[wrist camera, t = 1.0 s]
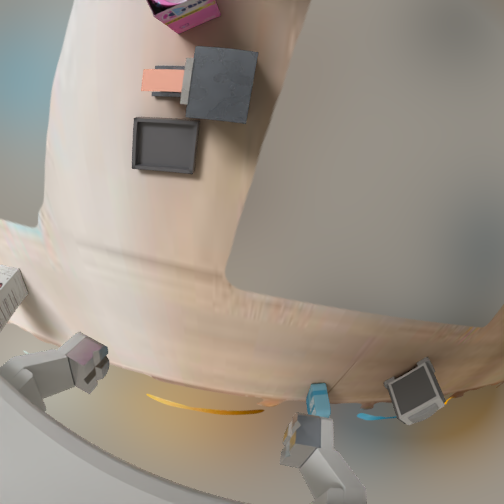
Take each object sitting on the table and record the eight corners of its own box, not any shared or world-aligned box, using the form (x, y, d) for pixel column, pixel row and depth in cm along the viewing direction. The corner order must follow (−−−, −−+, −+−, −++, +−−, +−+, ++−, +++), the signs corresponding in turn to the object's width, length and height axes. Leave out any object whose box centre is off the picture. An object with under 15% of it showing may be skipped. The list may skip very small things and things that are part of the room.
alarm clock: (393, 392, 91) (405, 431, 76) (382, 382, 86) (396, 425, 70) (434, 368, 85) (450, 407, 70) (427, 356, 80) (446, 398, 64)
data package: (311, 382, 83) (316, 414, 72) (325, 380, 83) (331, 412, 72) (305, 399, 89) (309, 429, 79) (318, 398, 89) (323, 428, 79)
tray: (135, 165, 47) (131, 168, 46) (137, 116, 42) (134, 118, 41) (194, 171, 48) (192, 174, 47) (199, 120, 43) (198, 121, 42)
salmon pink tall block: (159, 89, 40) (141, 90, 33) (162, 72, 38) (143, 69, 31) (194, 91, 41) (182, 92, 33) (197, 73, 39) (185, 69, 31)
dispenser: (152, 108, 42) (129, 115, 33) (159, 53, 37) (137, 46, 28) (246, 117, 43) (245, 124, 35) (256, 60, 38) (258, 52, 29)
